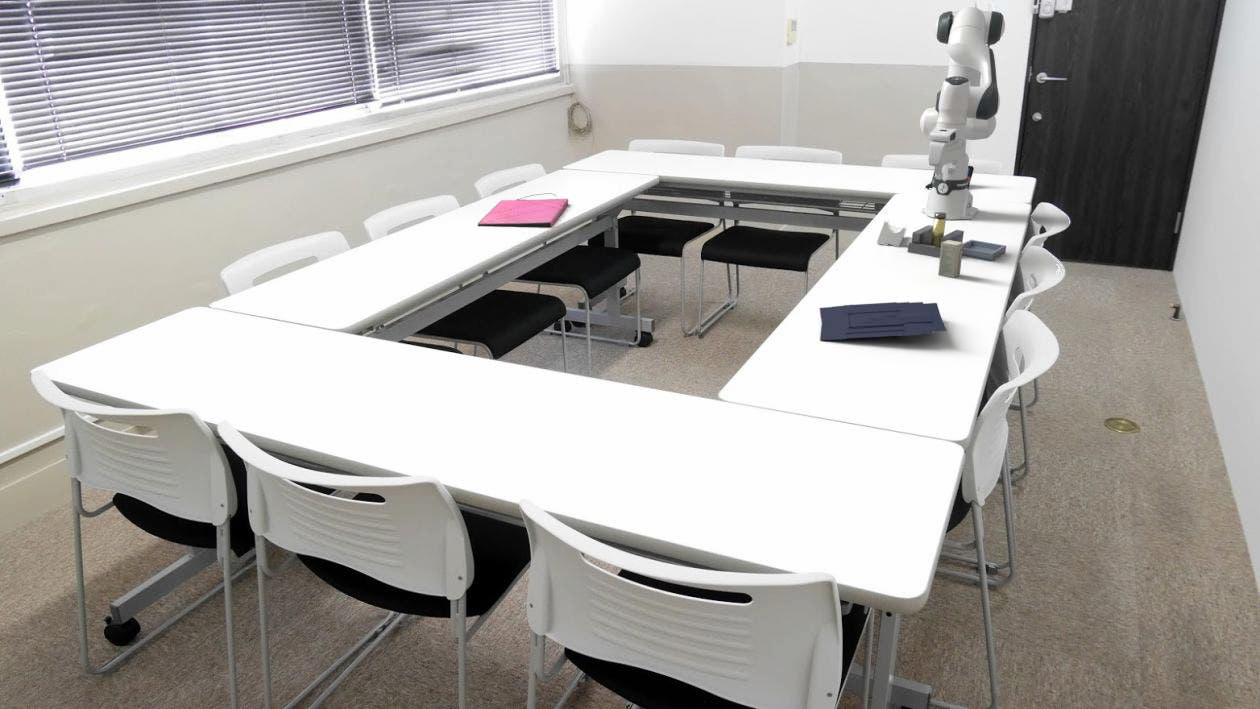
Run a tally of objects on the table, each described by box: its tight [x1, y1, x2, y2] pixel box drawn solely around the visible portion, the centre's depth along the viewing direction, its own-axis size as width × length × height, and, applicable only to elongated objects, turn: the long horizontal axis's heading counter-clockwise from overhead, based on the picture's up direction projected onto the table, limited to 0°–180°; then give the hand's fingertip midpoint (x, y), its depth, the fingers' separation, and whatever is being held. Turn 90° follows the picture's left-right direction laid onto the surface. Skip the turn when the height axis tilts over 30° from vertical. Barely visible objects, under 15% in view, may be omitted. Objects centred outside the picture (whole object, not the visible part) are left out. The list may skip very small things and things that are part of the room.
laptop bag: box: [477, 192, 569, 228], centre depth 349 cm, size 40×4×27 cm
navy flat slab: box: [819, 301, 947, 341], centre depth 234 cm, size 24×30×4 cm
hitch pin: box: [931, 212, 947, 247], centre depth 296 cm, size 4×4×12 cm
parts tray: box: [962, 239, 1007, 262], centre depth 293 cm, size 12×12×2 cm
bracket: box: [876, 219, 907, 248], centre depth 307 cm, size 13×7×8 cm, turn 157°
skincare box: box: [937, 240, 964, 278], centre depth 272 cm, size 5×4×10 cm
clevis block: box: [907, 224, 965, 259], centre depth 296 cm, size 14×12×6 cm
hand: (945, 176), depth 289 cm, fingers open, 8 cm apart
